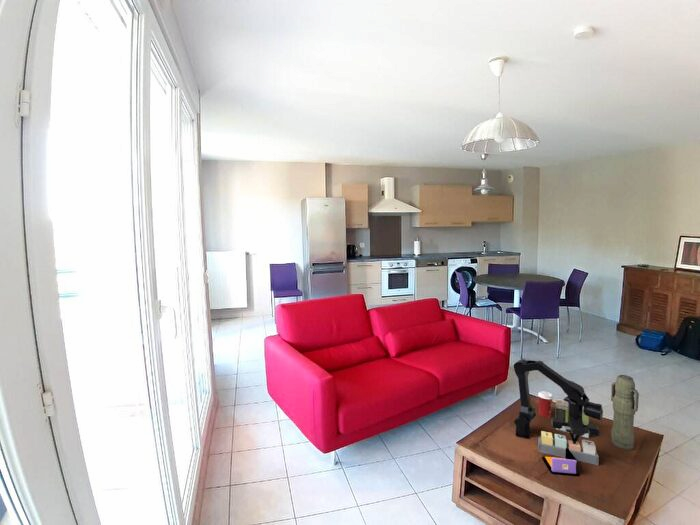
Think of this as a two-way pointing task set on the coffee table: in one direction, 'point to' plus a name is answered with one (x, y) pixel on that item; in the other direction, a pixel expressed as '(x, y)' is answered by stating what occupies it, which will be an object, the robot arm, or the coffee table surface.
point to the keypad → (562, 451)
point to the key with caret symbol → (560, 441)
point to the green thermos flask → (624, 411)
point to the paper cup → (545, 404)
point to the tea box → (563, 414)
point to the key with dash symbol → (574, 446)
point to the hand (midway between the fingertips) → (574, 443)
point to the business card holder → (562, 465)
